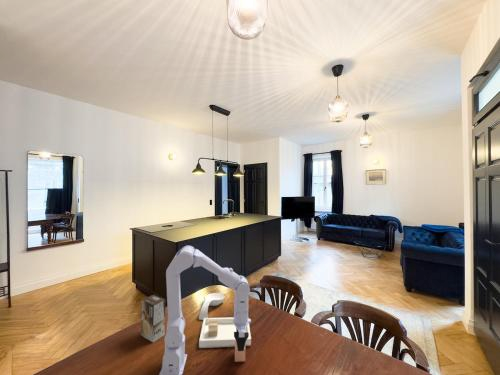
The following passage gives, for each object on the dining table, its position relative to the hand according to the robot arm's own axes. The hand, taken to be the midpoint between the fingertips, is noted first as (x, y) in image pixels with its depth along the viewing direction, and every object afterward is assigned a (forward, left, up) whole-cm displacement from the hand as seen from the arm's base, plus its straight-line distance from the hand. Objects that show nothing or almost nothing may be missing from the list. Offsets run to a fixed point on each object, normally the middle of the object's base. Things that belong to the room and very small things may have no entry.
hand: (240, 343), depth 86 cm
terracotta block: (0, 0, -6) cm, 6 cm away
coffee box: (+15, +39, -6) cm, 42 cm away
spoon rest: (+36, +15, -6) cm, 40 cm away
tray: (+14, +6, -6) cm, 16 cm away
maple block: (+14, +12, -5) cm, 19 cm away
